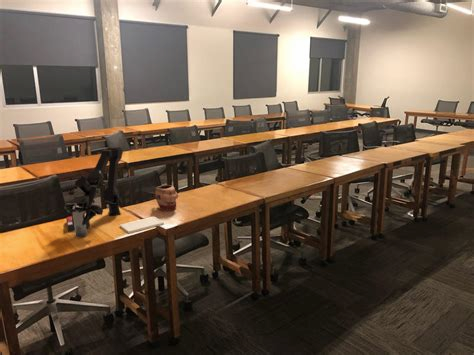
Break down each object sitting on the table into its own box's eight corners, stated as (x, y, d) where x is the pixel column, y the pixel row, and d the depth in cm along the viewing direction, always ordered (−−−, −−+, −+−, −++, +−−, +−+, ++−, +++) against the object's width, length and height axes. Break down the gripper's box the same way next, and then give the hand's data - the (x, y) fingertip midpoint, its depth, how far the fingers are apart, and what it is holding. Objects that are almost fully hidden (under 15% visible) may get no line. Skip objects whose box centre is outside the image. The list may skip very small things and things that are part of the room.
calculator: (87, 213, 215) (89, 220, 202) (88, 220, 216) (90, 228, 203) (66, 216, 211) (66, 224, 198) (67, 223, 212) (67, 232, 198)
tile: (128, 233, 195) (128, 231, 195) (119, 226, 204) (119, 224, 204) (164, 224, 207) (163, 222, 207) (154, 217, 216) (154, 216, 216)
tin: (75, 234, 195) (72, 210, 191) (87, 232, 196) (84, 209, 193) (75, 238, 190) (72, 213, 186) (87, 236, 192) (84, 212, 188)
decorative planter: (147, 207, 234) (145, 185, 230) (163, 202, 243) (161, 181, 239) (169, 214, 222) (167, 191, 218) (184, 208, 231) (183, 186, 227)
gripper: (64, 188, 193) (52, 216, 185) (97, 190, 189) (86, 219, 181) (75, 198, 202) (65, 225, 195) (107, 200, 198) (97, 228, 191)
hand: (78, 224), depth 190 cm, fingers closed on tin, 5 cm apart
